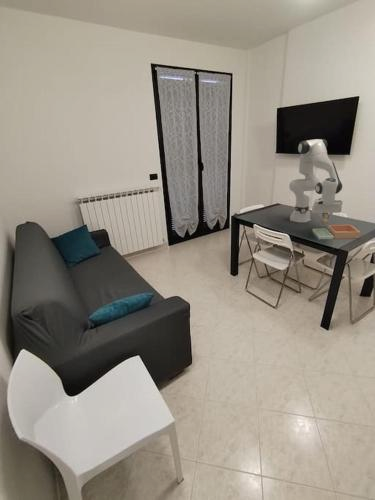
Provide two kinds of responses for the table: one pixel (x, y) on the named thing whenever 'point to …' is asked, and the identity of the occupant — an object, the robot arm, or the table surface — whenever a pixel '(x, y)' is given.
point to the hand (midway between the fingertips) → (325, 218)
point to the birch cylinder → (325, 218)
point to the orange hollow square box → (343, 231)
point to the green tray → (323, 233)
